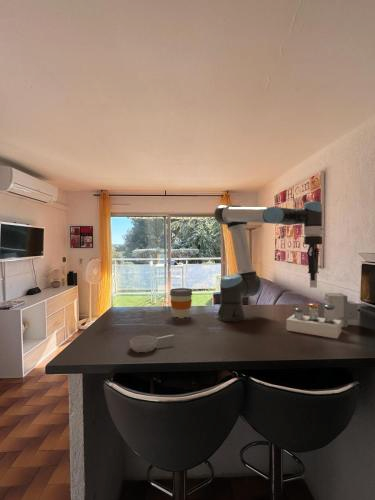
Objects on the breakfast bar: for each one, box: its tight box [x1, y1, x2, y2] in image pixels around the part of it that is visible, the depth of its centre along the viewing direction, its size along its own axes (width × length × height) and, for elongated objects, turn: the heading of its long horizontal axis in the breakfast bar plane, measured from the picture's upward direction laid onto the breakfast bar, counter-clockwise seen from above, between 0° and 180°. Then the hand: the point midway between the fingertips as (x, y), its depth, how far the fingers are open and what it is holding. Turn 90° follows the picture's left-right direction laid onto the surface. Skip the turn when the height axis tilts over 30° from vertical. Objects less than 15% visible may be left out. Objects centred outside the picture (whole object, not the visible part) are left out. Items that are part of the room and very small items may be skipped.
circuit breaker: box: [324, 292, 361, 328], centre depth 137 cm, size 8×14×15 cm, turn 78°
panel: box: [286, 313, 342, 339], centre depth 128 cm, size 21×12×5 cm, turn 54°
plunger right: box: [323, 304, 335, 324], centre depth 125 cm, size 4×4×9 cm
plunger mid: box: [308, 302, 320, 322], centre depth 128 cm, size 4×4×9 cm
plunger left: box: [293, 307, 305, 320], centre depth 132 cm, size 4×4×9 cm
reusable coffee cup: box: [169, 287, 193, 319], centre depth 158 cm, size 13×13×15 cm
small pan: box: [129, 333, 175, 353], centre depth 110 cm, size 11×18×4 cm, turn 113°
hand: (313, 287), depth 128 cm, fingers closed
